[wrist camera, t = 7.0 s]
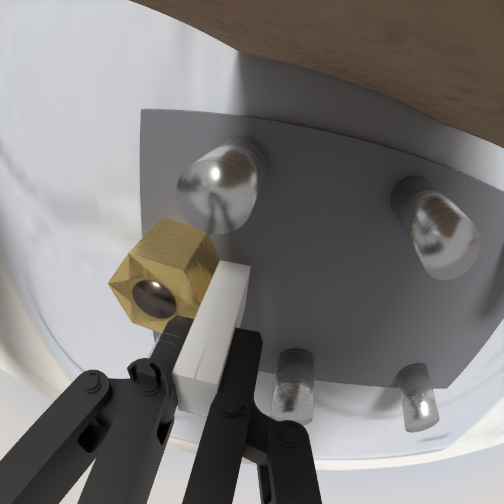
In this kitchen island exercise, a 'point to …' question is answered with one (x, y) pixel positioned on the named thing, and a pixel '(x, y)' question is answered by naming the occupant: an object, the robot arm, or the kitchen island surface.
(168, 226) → the nut
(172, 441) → the kitchen island surface
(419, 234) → the set of silver pegs
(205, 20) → the wooden block
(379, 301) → the grey flat plate
